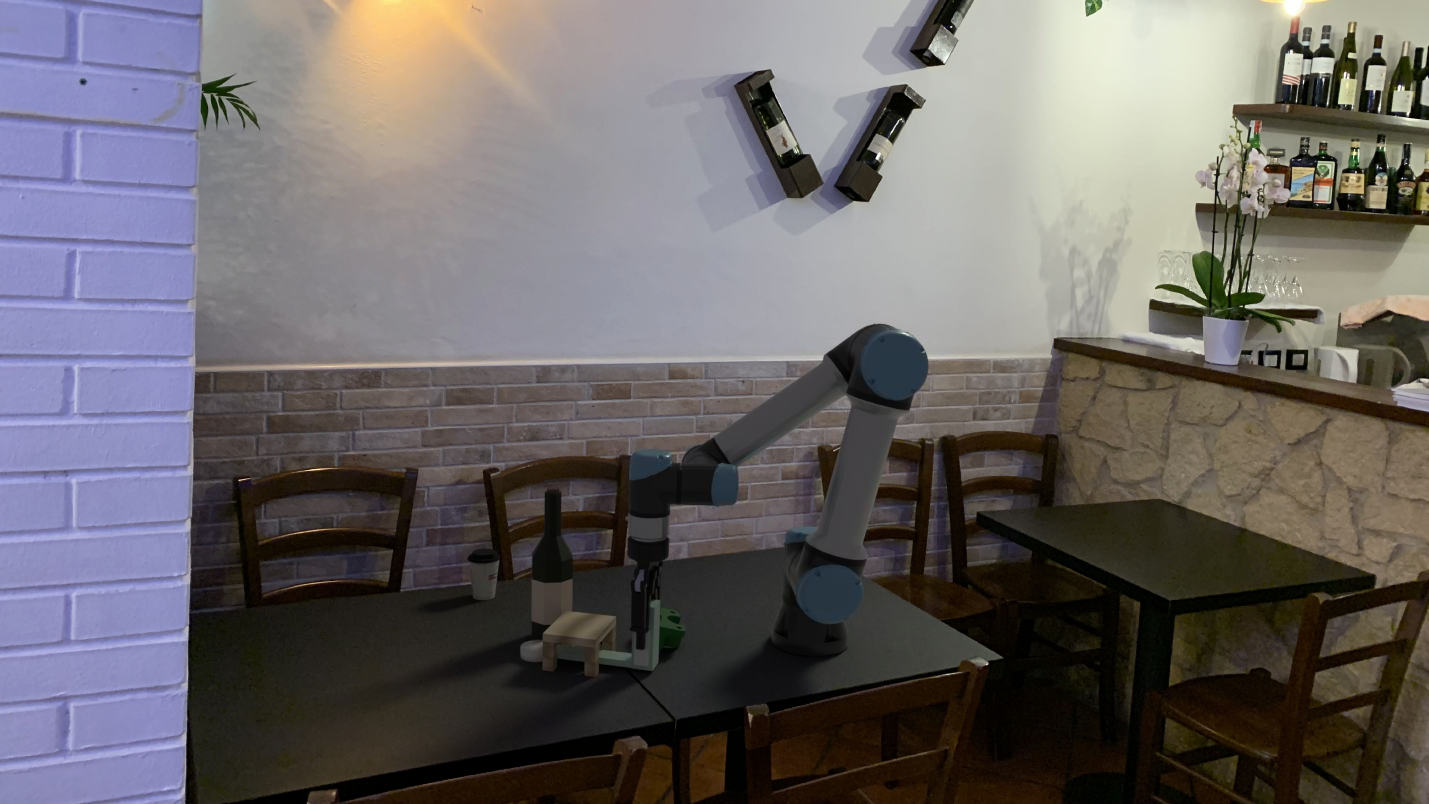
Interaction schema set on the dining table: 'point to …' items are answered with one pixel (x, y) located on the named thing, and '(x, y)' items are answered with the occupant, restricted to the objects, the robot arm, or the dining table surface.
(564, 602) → the wine bottle
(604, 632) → the riser
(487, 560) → the coffee cup
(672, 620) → the clamp
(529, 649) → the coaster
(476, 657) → the dining table surface
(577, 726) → the dining table surface
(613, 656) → the l-shaped bracket
